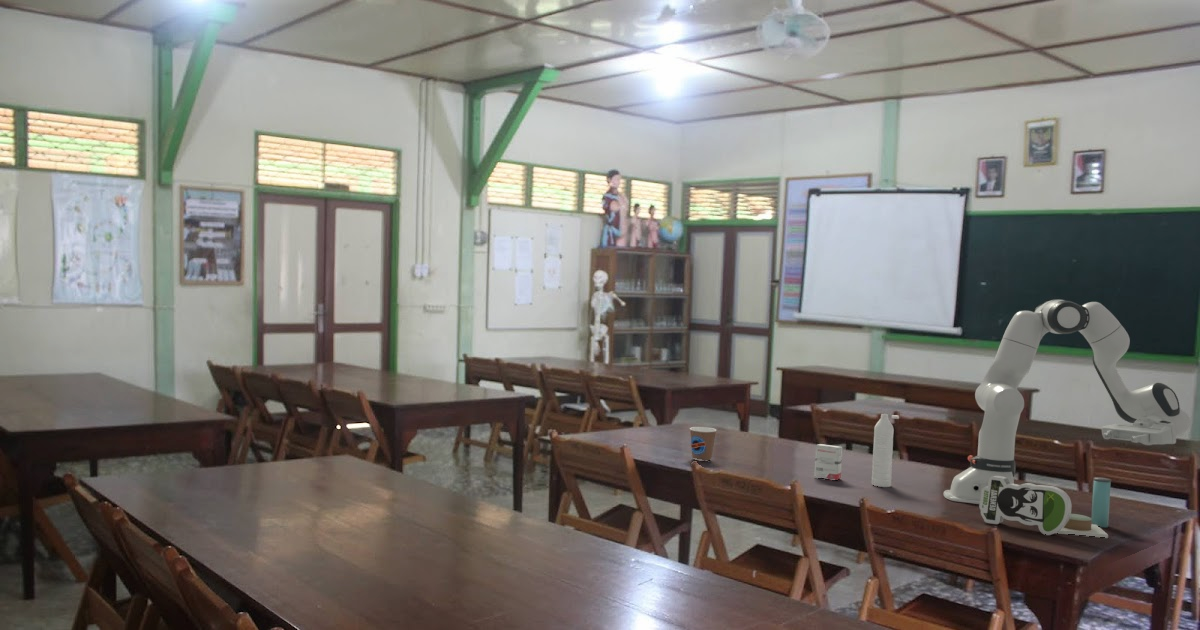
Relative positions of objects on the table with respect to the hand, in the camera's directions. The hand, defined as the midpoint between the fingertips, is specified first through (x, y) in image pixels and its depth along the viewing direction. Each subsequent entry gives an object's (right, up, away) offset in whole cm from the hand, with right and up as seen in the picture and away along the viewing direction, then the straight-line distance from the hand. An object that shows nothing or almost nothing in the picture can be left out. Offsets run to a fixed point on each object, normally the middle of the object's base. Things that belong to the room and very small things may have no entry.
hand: (1119, 438), depth 290 cm
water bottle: (-61, -22, +37) cm, 75 cm away
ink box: (-79, -21, +46) cm, 93 cm away
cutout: (-37, -24, -16) cm, 47 cm away
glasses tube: (-10, -25, -8) cm, 28 cm away
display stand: (-21, -25, -16) cm, 36 cm away
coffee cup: (-121, -18, +72) cm, 142 cm away
